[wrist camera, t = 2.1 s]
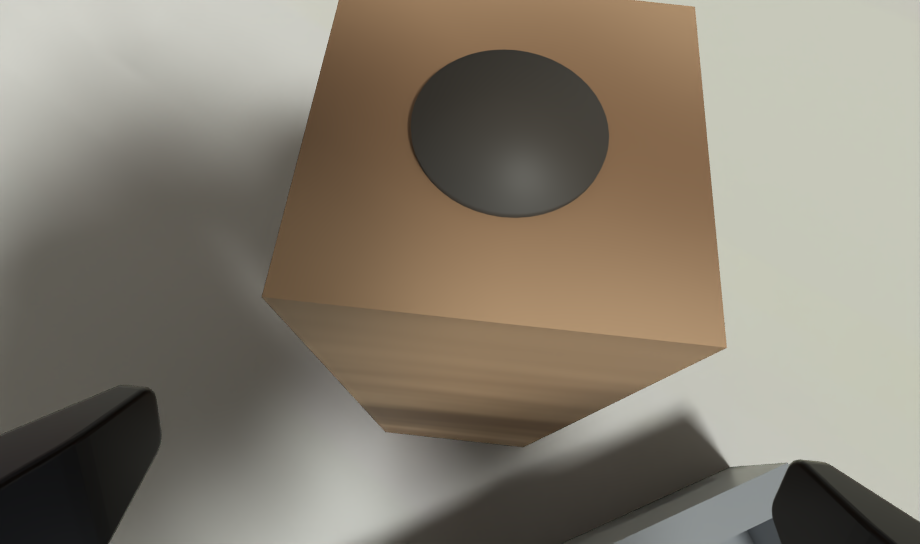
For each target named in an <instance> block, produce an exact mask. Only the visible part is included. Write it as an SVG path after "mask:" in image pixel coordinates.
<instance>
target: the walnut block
mask: <svg viewBox="0 0 920 544" xmlns="http://www.w3.org/2000/svg"><path fill="white" fill-rule="evenodd" d="M262 298H263V299H264V300H265V301H266V302H267V303H268V304H269V306H270V307H271V308H272V309H273V310H274V311H275V312H276V313H277V314H278V315H279V316H280V318H281V319H282V320H283V321H284V322H285V323H286V324H287V325H288V326H289V327H290V328H291V330H292V331H293V332H294V333H295V334H296V335H297V336H298V337H299V338H300V339H301V340H302V342H303V343H304V344H305V345H306V346H307V347H308V348H309V349H310V350H311V351H312V352H313V354H314V355H315V356H316V357H317V358H318V359H319V360H320V361H321V362H322V363H323V364H324V365H325V367H326V368H327V369H328V370H329V371H330V372H331V373H332V374H333V375H334V376H335V377H336V379H337V380H338V381H339V382H340V383H341V384H342V385H343V386H344V387H345V388H346V389H347V391H348V392H349V393H350V394H351V395H352V396H353V397H354V398H355V399H356V400H357V401H358V403H359V404H360V405H361V406H362V407H363V408H364V409H365V410H366V411H367V412H368V413H369V415H370V416H371V417H372V418H373V419H374V420H375V421H376V422H377V423H378V424H379V425H380V427H381V428H382V429H383V430H384V431H385V432H391V433H400V434H409V435H418V436H427V437H436V438H446V439H455V440H464V441H473V442H482V443H491V444H500V445H509V446H519V447H525V446H527V445H529V444H531V443H533V442H535V441H537V440H539V439H541V438H543V437H545V436H547V435H549V434H552V433H554V432H556V431H558V430H560V429H562V428H564V427H566V426H568V425H570V424H572V423H574V422H576V421H578V420H580V419H582V418H584V417H586V416H588V415H590V414H592V413H594V412H596V411H598V410H600V409H603V408H605V407H607V406H609V405H611V404H613V403H615V402H617V401H619V400H621V399H623V398H625V397H627V396H629V395H631V394H633V393H635V392H637V391H639V390H641V389H643V388H645V387H647V386H649V385H652V384H654V383H656V382H658V381H660V380H662V379H664V378H666V377H668V376H670V375H672V374H674V373H676V372H678V371H680V370H682V369H684V368H686V367H688V366H690V365H692V364H694V363H696V362H698V361H701V360H703V359H705V358H707V357H709V356H711V355H713V354H715V353H717V352H719V351H721V350H723V349H725V348H727V346H726V335H725V325H724V314H723V303H722V292H721V282H720V271H719V260H718V250H717V239H716V228H715V218H714V207H713V196H712V186H711V175H710V164H709V154H708V143H707V132H706V122H705V111H704V100H703V90H702V79H701V68H700V57H699V47H698V36H697V25H696V15H695V7H692V6H682V5H673V4H663V3H654V2H645V1H635V0H339V2H338V6H337V10H336V13H335V17H334V21H333V25H332V29H331V33H330V36H329V40H328V44H327V48H326V52H325V56H324V60H323V63H322V67H321V71H320V75H319V79H318V83H317V86H316V90H315V94H314V98H313V102H312V106H311V109H310V113H309V117H308V121H307V125H306V129H305V133H304V136H303V140H302V144H301V148H300V152H299V156H298V159H297V163H296V167H295V171H294V175H293V179H292V183H291V186H290V190H289V194H288V198H287V202H286V206H285V209H284V213H283V217H282V221H281V225H280V229H279V232H278V236H277V240H276V244H275V248H274V252H273V256H272V259H271V263H270V267H269V271H268V275H267V279H266V282H265V286H264V290H263V294H262Z"/></svg>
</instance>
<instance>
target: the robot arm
mask: <svg viewBox="0 0 920 544" xmlns="http://www.w3.org/2000/svg"><path fill="white" fill-rule="evenodd" d="M161 437H162V435H161V426H160V420H159V413H158V407H157V401H156V396H155V393H154V392H153V390H151V389H150V388H147V387H139V386H130V385H120V386H117V387H114V388H112V389H109V390H107V391H105V392H102V393H100V394H97V395H95V396H93V397H90V398H88V399H85V400H83V401H81V402H78V403H76V404H73V405H71V406H69V407H66V408H64V409H61V410H59V411H57V412H54V413H52V414H49V415H47V416H45V417H42V418H40V419H37V420H35V421H33V422H30V423H28V424H25V425H23V426H21V427H18V428H16V429H13V430H11V431H9V432H6V433H4V434H1V435H0V544H109V542H110V540H111V539H112V537H113V535H114V533H115V531H116V529H117V528H118V526H119V524H120V522H121V520H122V518H123V516H124V514H125V513H126V511H127V509H128V507H129V505H130V503H131V501H132V499H133V498H134V496H135V494H136V492H137V490H138V488H139V486H140V484H141V483H142V481H143V479H144V477H145V475H146V473H147V471H148V469H149V468H150V466H151V464H152V462H153V460H154V458H155V456H156V454H157V452H158V450H159V447H160V444H161ZM772 517H773V522H774V525H775V528H776V530H777V533H778V536H779V539H780V542H781V544H920V522H919V521H917V520H916V519H914V518H913V517H911V516H910V515H908V514H907V513H905V512H903V511H902V510H900V509H899V508H897V507H896V506H894V505H892V504H891V503H889V502H888V501H886V500H885V499H883V498H881V497H880V496H878V495H877V494H875V493H874V492H872V491H871V490H869V489H867V488H866V487H864V486H863V485H861V484H860V483H858V482H856V481H855V480H853V479H852V478H850V477H849V476H847V475H845V474H844V473H842V472H841V471H839V470H838V469H836V468H834V467H833V466H831V465H829V464H827V463H824V462H818V461H809V460H795V461H793V462H792V463H791V464H790V465H789V466H788V468H787V471H786V473H785V475H784V477H783V480H782V482H781V484H780V486H779V489H778V491H777V493H776V495H775V498H774V500H773V503H772Z"/></svg>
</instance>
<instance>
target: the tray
mask: <svg viewBox="0 0 920 544" xmlns="http://www.w3.org/2000/svg"><path fill="white" fill-rule="evenodd" d="M788 466H789V464H788V463H777V464H764V465H751V466H737V467H730V468H728V469H725V470H723V471H721V472H719V473H717V474H714V475H712V476H710V477H708V478H705V479H703V480H701V481H699V482H697V483H694V484H692V485H690V486H688V487H686V488H683V489H681V490H679V491H677V492H675V493H672V494H670V495H668V496H666V497H664V498H661V499H659V500H657V501H655V502H653V503H650V504H648V505H646V506H644V507H642V508H639V509H637V510H635V511H633V512H631V513H628V514H626V515H624V516H622V517H620V518H617V519H615V520H613V521H611V522H609V523H606V524H604V525H602V526H600V527H598V528H595V529H593V530H591V531H589V532H587V533H584V534H582V535H580V536H578V537H576V538H573V539H571V540H569V541H567V542H565V543H562V544H781V542H780V539H779V536H778V533H777V530H776V528H775V525H774V522H773V517H772V503H773V500H774V498H775V495H776V493H777V491H778V489H779V486H780V484H781V482H782V480H783V477H784V475H785V473H786V471H787V468H788Z"/></svg>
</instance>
